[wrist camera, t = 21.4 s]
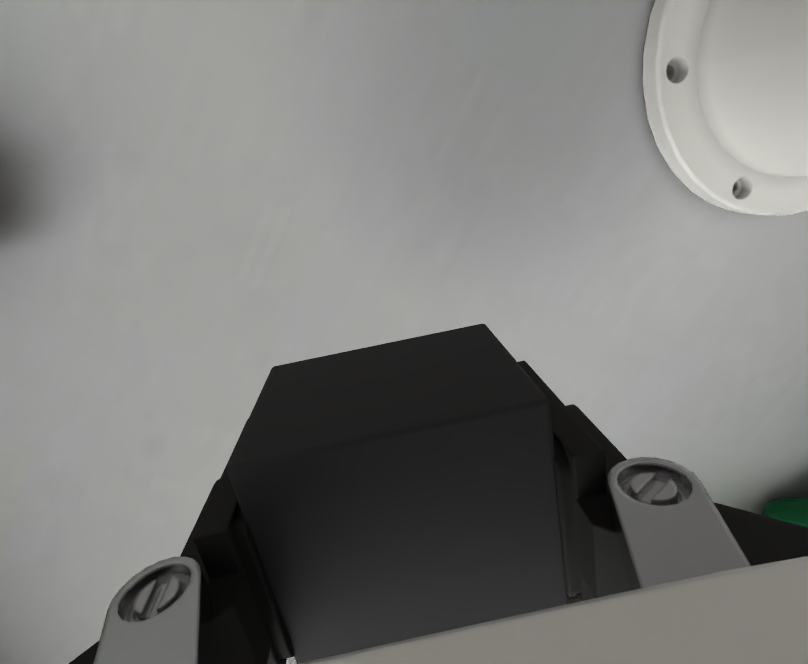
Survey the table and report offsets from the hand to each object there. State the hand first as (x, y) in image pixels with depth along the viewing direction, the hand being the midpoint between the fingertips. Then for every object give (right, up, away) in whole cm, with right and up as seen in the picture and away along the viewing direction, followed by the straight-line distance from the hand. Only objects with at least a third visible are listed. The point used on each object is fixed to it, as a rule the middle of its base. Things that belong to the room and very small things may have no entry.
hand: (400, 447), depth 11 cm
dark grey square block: (0, 0, 0) cm, 1 cm away
